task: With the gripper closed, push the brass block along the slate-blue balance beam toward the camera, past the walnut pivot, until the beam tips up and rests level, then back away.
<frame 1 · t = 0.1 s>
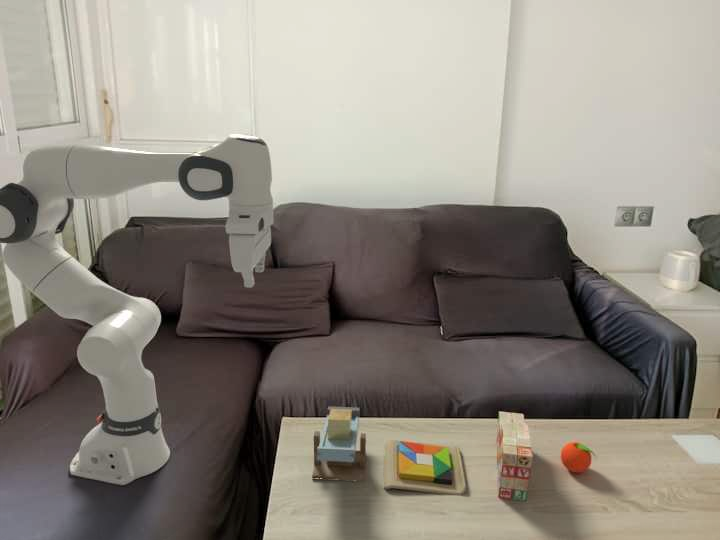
hand: (254, 278, 121), 48 cm above the table, tool pointing down, fingers open, 8 cm apart
beam: (340, 431, 134), point 10 cm above the table, hinge at -9.6°, touching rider
stack of blocks: (510, 470, 137), on the table
clementine: (576, 470, 137), on the table
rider: (339, 434, 134), point 9 cm above the table, tilted 10°, touching beam
wooden puzzle: (422, 470, 137), on the table
pivot stand: (339, 466, 137), on the table
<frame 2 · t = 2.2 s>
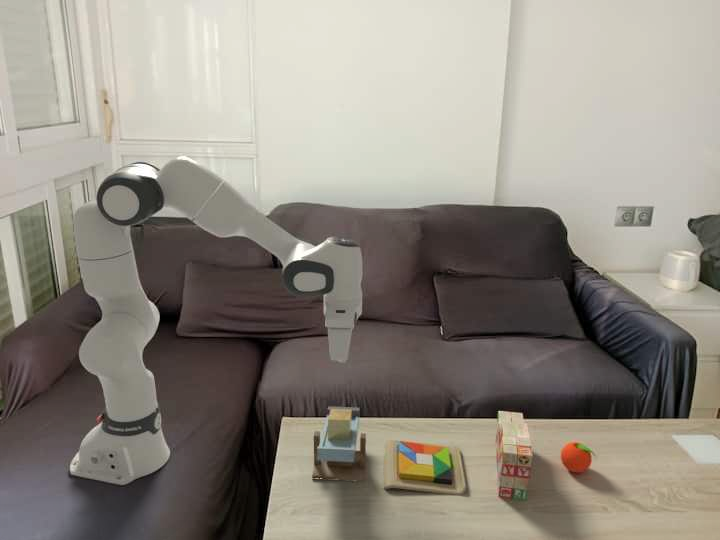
hand: (342, 359, 136), 25 cm above the table, tool pointing down, fingers closed
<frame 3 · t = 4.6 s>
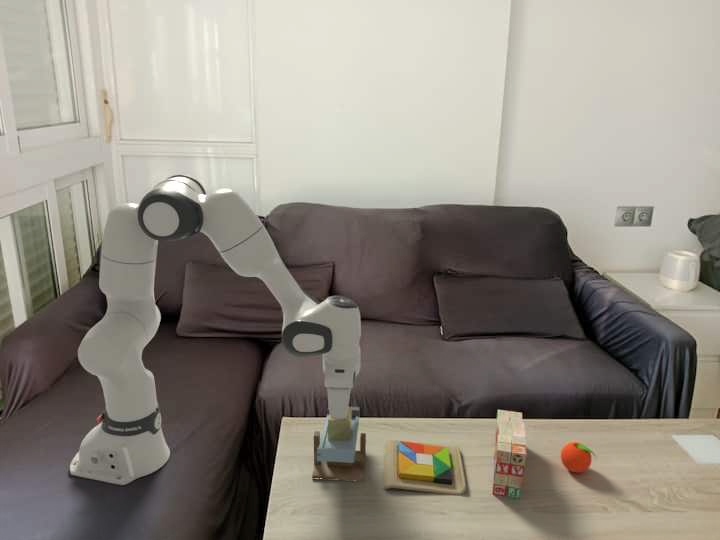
hand: (341, 413, 138), 12 cm above the table, tool pointing down, fingers closed
beam: (340, 432, 134), point 10 cm above the table, hinge at -8.8°, touching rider
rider: (339, 434, 134), point 9 cm above the table, tilted 9°, touching beam, gripper
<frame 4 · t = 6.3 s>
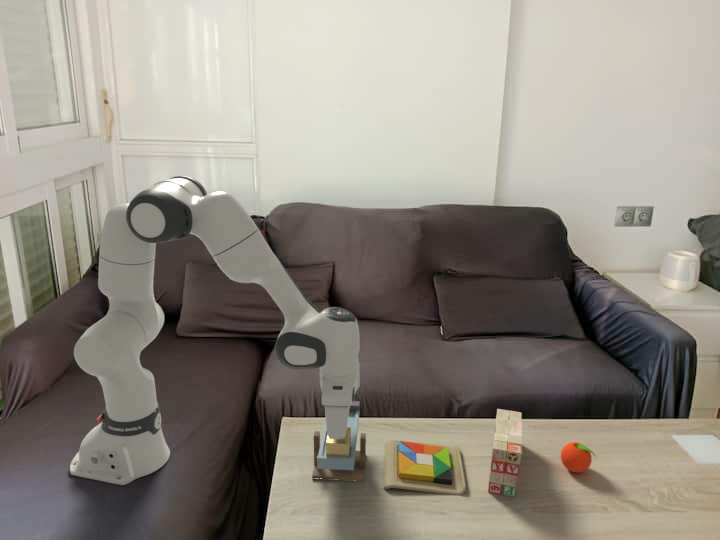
hand: (340, 431, 130), 12 cm above the table, tool pointing down, fingers closed
beam: (339, 432, 134), point 10 cm above the table, hinge at 1.2°, touching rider
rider: (338, 453, 127), point 9 cm above the table, touching beam, gripper
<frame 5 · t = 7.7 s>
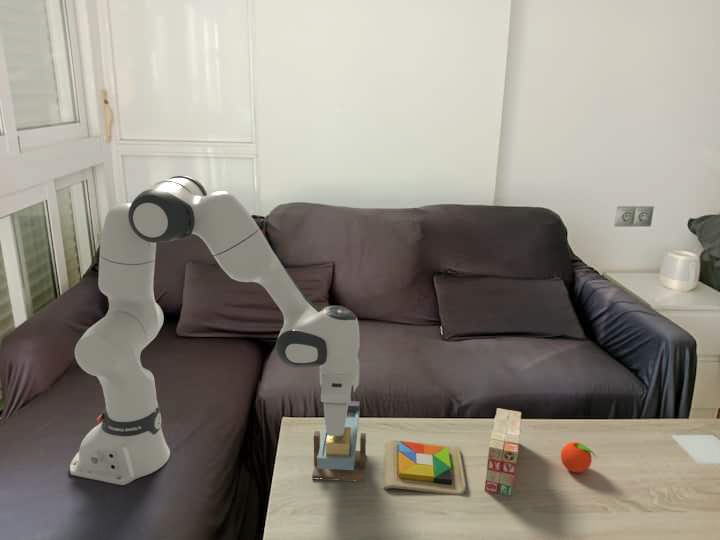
hand: (339, 429, 132), 12 cm above the table, tool pointing down, fingers closed
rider: (338, 453, 127), point 9 cm above the table, touching beam
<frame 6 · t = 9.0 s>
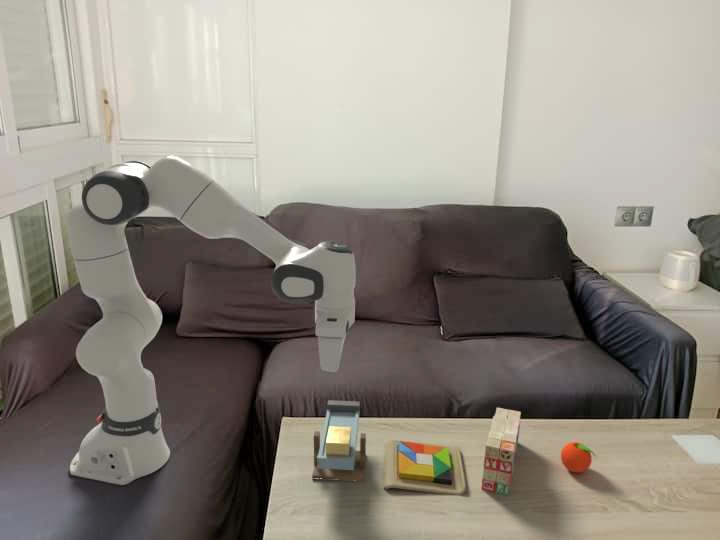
hand: (334, 369, 130), 25 cm above the table, tool pointing down, fingers closed
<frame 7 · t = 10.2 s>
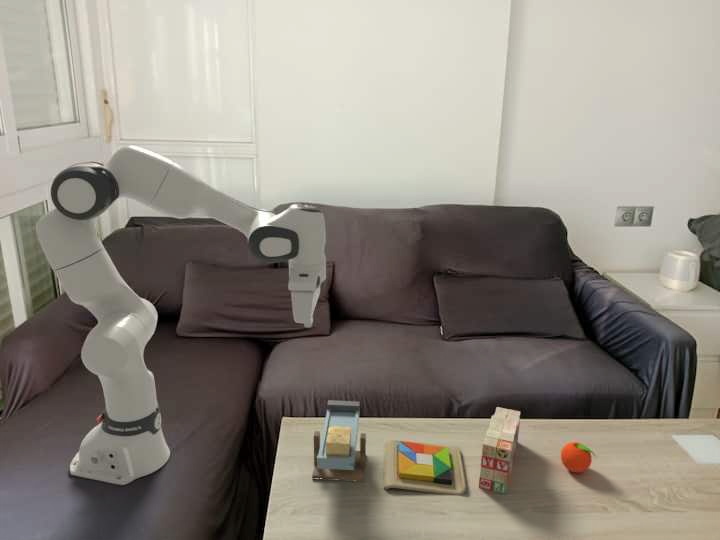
hand: (308, 324, 140), 31 cm above the table, tool pointing down, fingers closed
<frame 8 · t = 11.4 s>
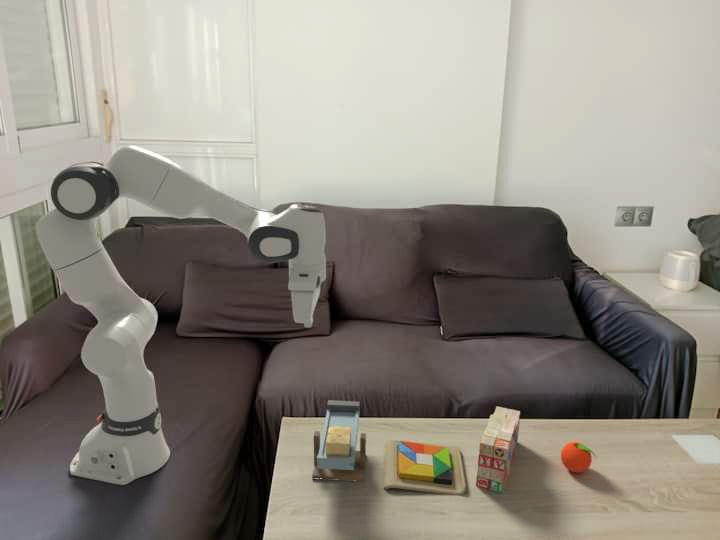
hand: (308, 324, 140), 31 cm above the table, tool pointing down, fingers closed
at the end: beam at +1° (first picture: -10°); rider inside the target area on the beam (0.8 cm from its centre), point 1.1 cm above the beam's base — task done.
